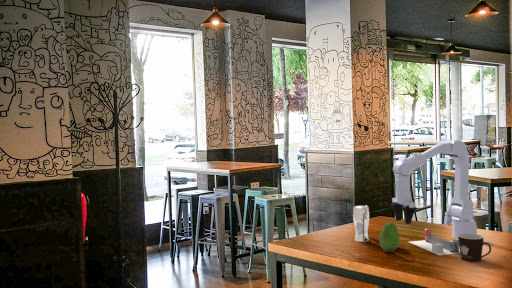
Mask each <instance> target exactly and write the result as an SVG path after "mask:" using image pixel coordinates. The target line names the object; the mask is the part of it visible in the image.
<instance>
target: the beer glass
mask: <svg viewBox="0 0 512 288" xmlns="http://www.w3.org/2000/svg"><path fill="white" fill-rule="evenodd" d="M352 211H353V212H352V215H353V217H352V218H353V219H352V220H353V224H354V229H355V235H354V236H355V237H354V241H356V242H359V243H366V242H369V235H368V233H369V232H368V231H369V224H370V210H369V206H368V205H354V206H353V210H352Z"/></svg>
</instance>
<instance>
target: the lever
mask: <svg viewBox="0 0 512 288" xmlns="http://www.w3.org/2000/svg"><path fill="white" fill-rule="evenodd" d="M424 240H425V241H427V242H432V243H434V244H435V243H440V244H442V245H443V247H445V248H447V249H450V252H460V247H459V240H458V239H449V240H446V239H444V238H441V237H439V236H436V235H434V234H433V235H432V228H429V227H428V228H424Z"/></svg>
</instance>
